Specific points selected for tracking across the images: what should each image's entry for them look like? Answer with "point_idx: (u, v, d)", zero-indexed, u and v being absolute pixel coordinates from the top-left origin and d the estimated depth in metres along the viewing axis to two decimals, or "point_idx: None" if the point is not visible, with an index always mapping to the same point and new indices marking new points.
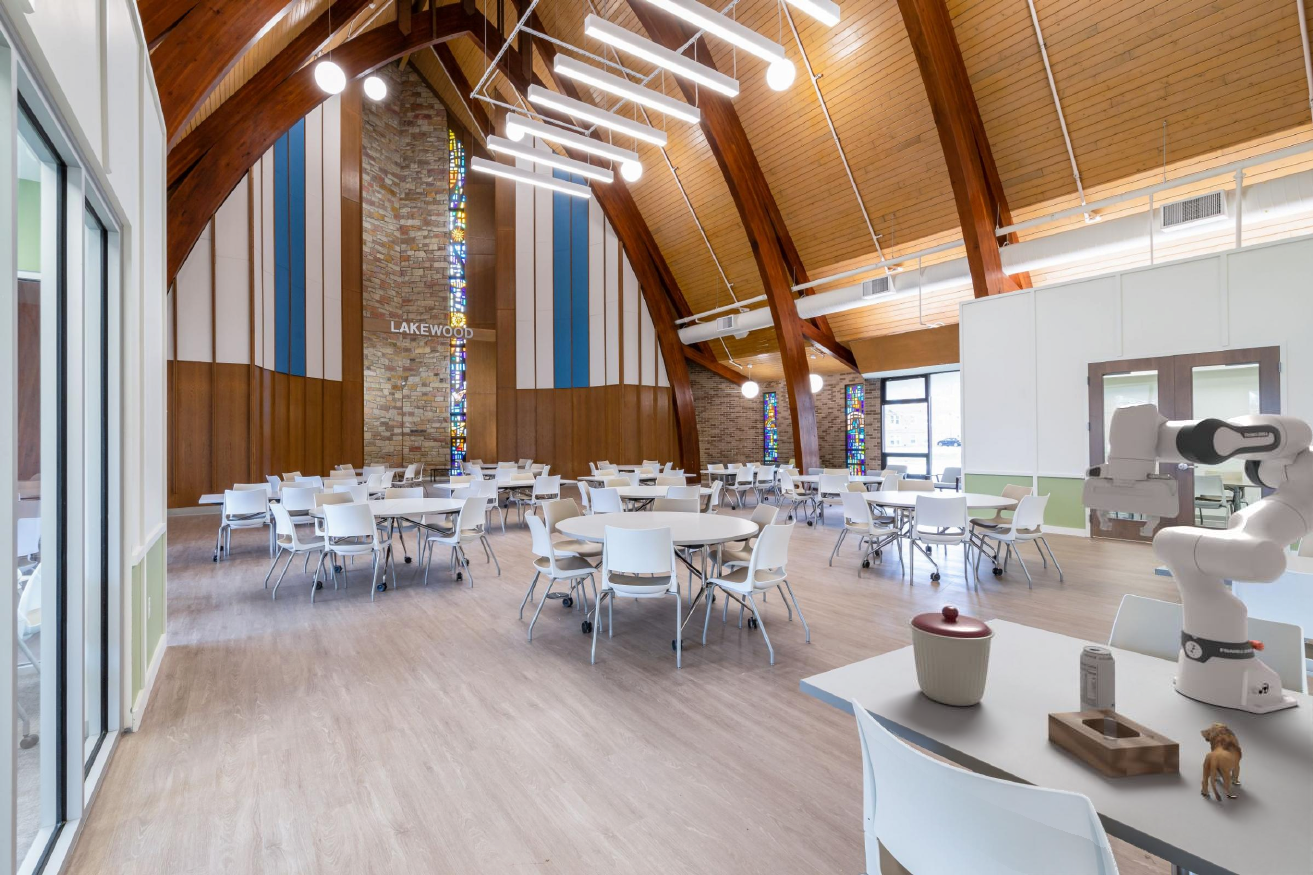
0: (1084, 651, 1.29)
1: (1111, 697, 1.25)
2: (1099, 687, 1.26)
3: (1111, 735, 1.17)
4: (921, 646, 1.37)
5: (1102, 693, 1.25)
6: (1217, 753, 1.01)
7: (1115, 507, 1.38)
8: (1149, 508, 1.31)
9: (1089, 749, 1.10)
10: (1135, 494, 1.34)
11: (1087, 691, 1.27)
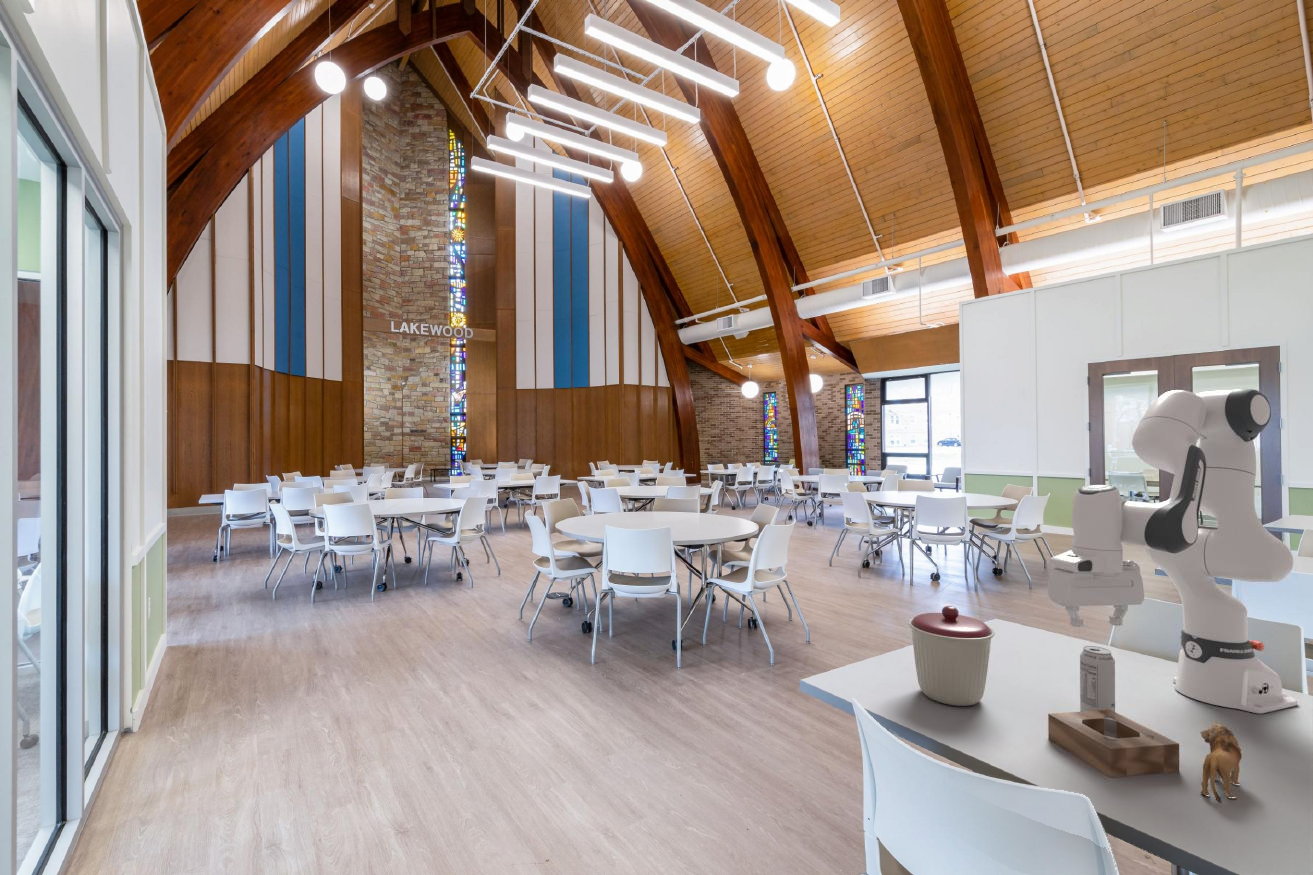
0: (1084, 651, 1.29)
1: (1111, 697, 1.25)
2: (1099, 687, 1.26)
3: (1111, 735, 1.17)
4: (921, 646, 1.37)
5: (1102, 693, 1.25)
6: (1217, 754, 1.01)
7: (1098, 602, 1.26)
8: (1130, 599, 1.27)
9: (1089, 749, 1.10)
10: (1114, 585, 1.27)
11: (1087, 691, 1.27)
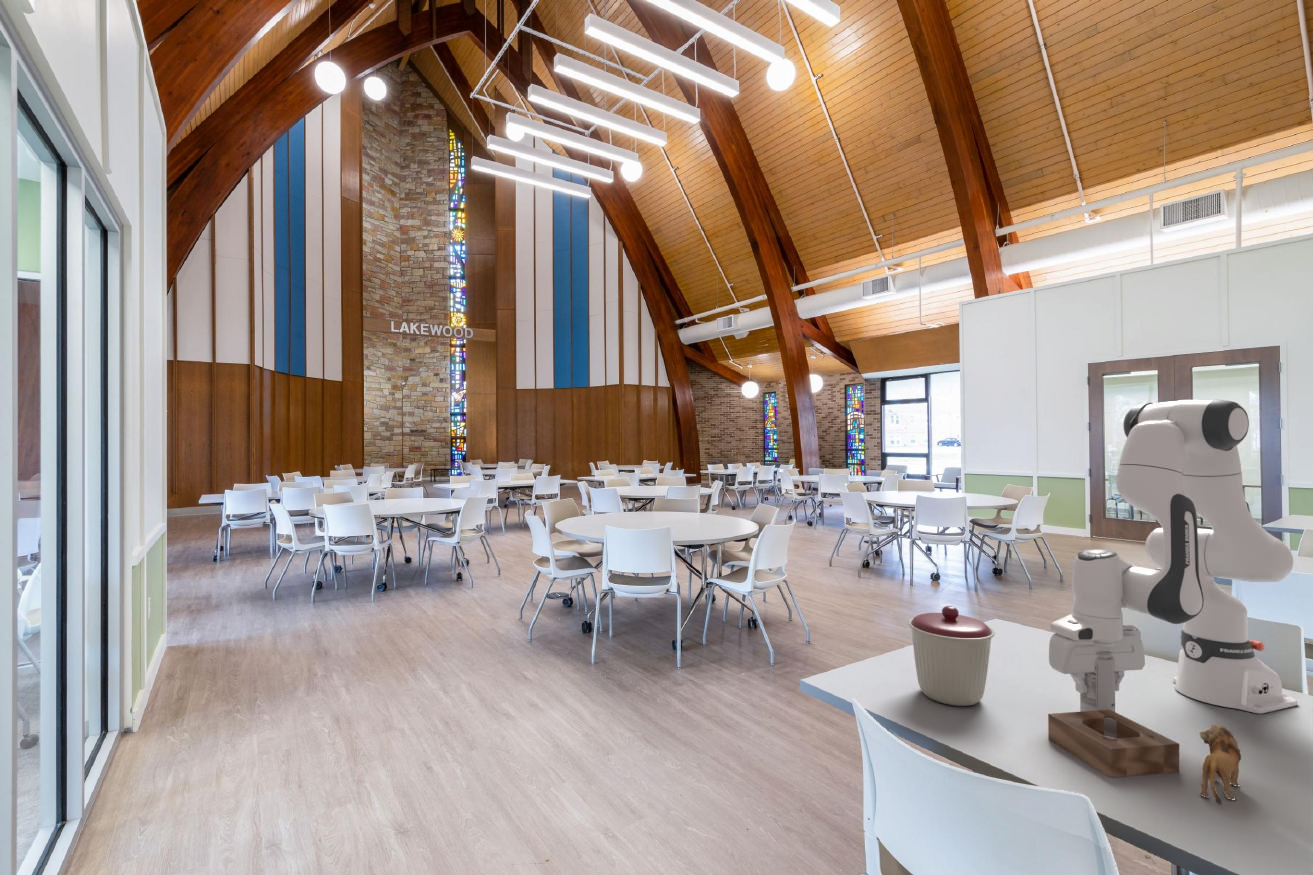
0: None
1: (1111, 697, 1.25)
2: (1099, 687, 1.26)
3: (1111, 735, 1.17)
4: (921, 646, 1.37)
5: (1102, 693, 1.25)
6: (1217, 755, 1.00)
7: None
8: (1131, 664, 1.27)
9: (1089, 749, 1.10)
10: (1115, 651, 1.27)
11: None
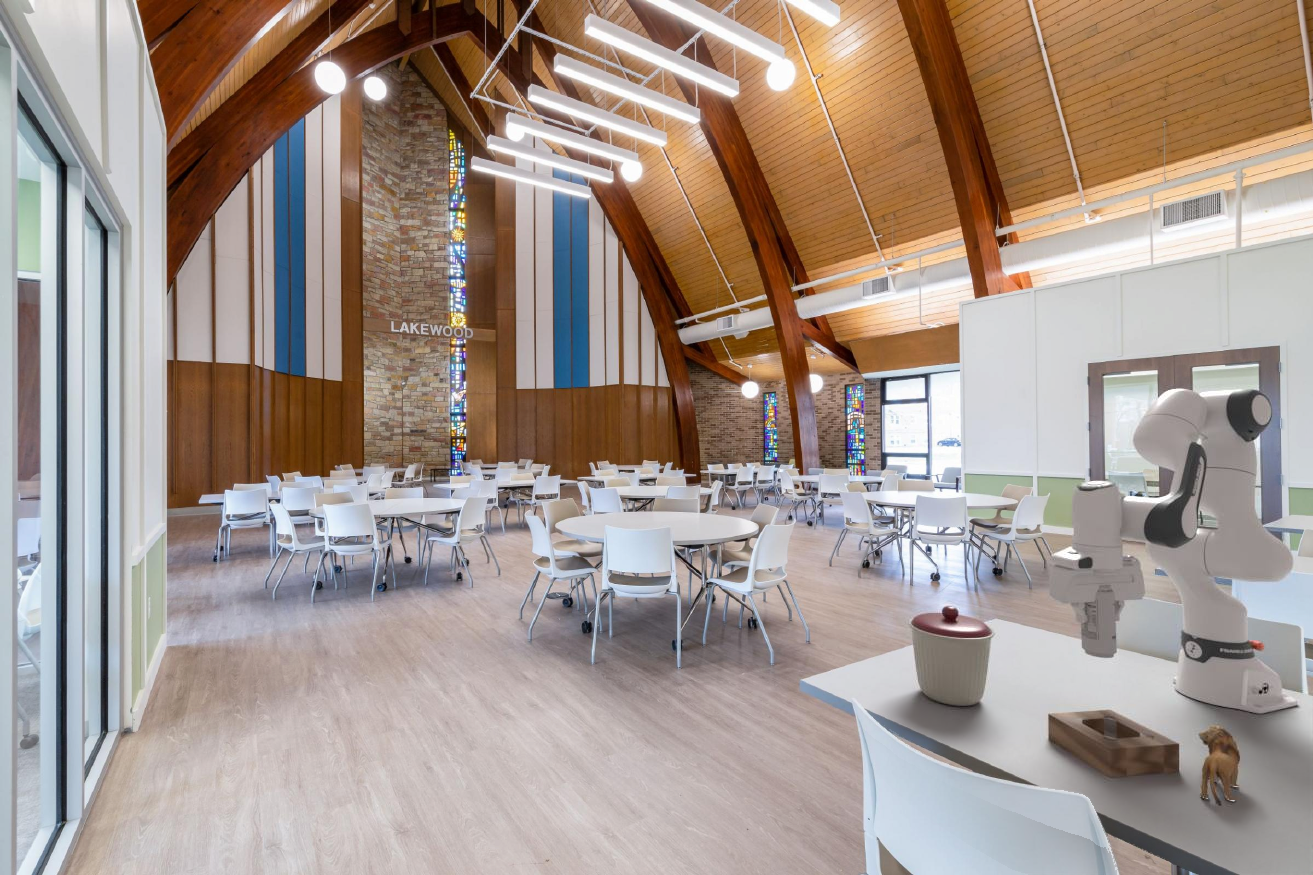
0: None
1: (1112, 629, 1.25)
2: (1099, 620, 1.26)
3: (1111, 735, 1.17)
4: (921, 646, 1.37)
5: (1103, 625, 1.26)
6: (1217, 757, 1.00)
7: None
8: (1131, 594, 1.28)
9: (1089, 749, 1.10)
10: (1115, 581, 1.27)
11: (1088, 625, 1.27)
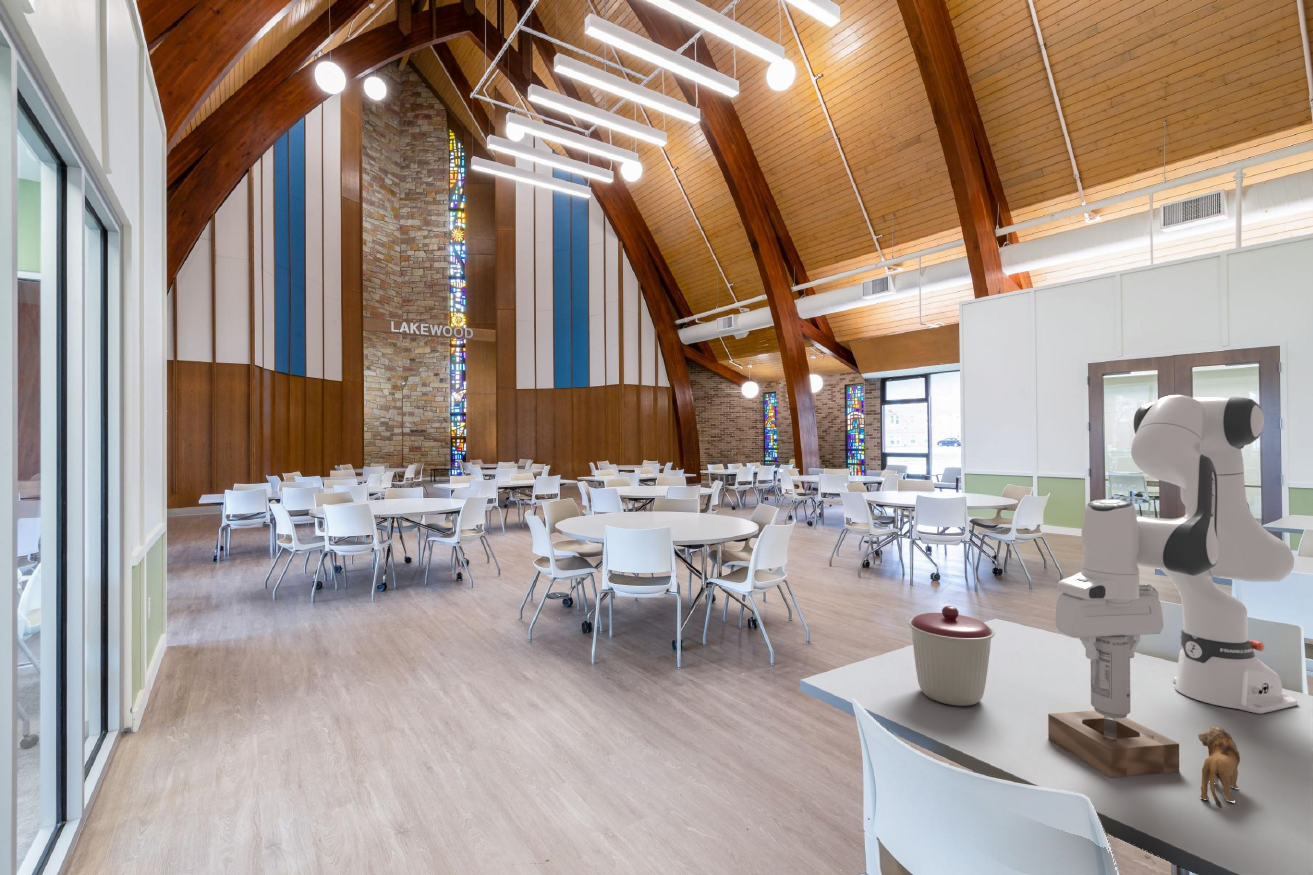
0: None
1: (1127, 687, 1.11)
2: (1113, 676, 1.11)
3: (1111, 735, 1.17)
4: (921, 646, 1.37)
5: (1117, 682, 1.11)
6: (1217, 758, 1.00)
7: (1112, 632, 1.12)
8: (1148, 627, 1.13)
9: (1089, 749, 1.10)
10: (1130, 613, 1.13)
11: (1100, 680, 1.13)
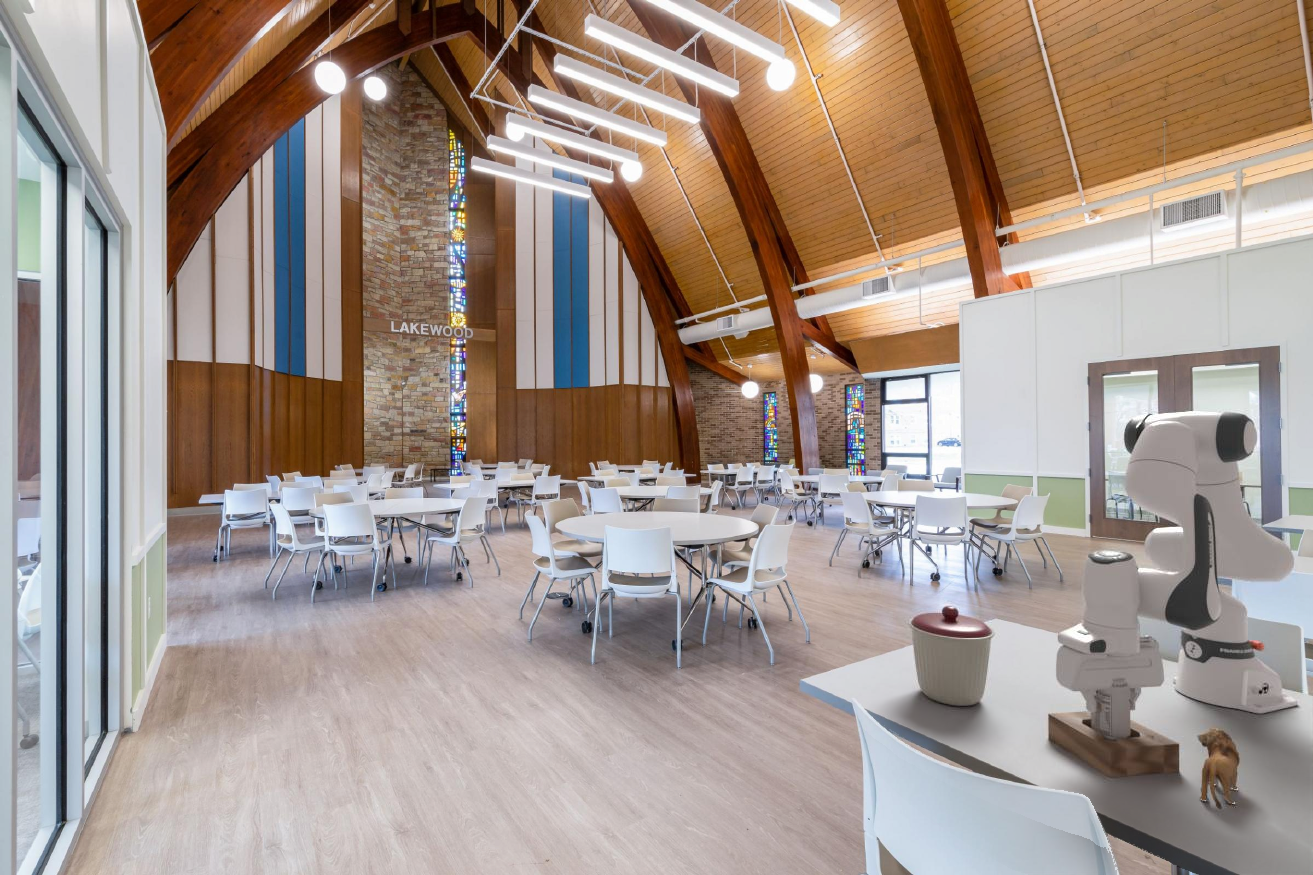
0: None
1: (1127, 729, 1.11)
2: (1113, 718, 1.11)
3: None
4: (921, 646, 1.37)
5: (1117, 725, 1.11)
6: (1216, 759, 0.99)
7: None
8: (1148, 680, 1.13)
9: (1089, 749, 1.10)
10: (1131, 666, 1.13)
11: (1100, 722, 1.13)
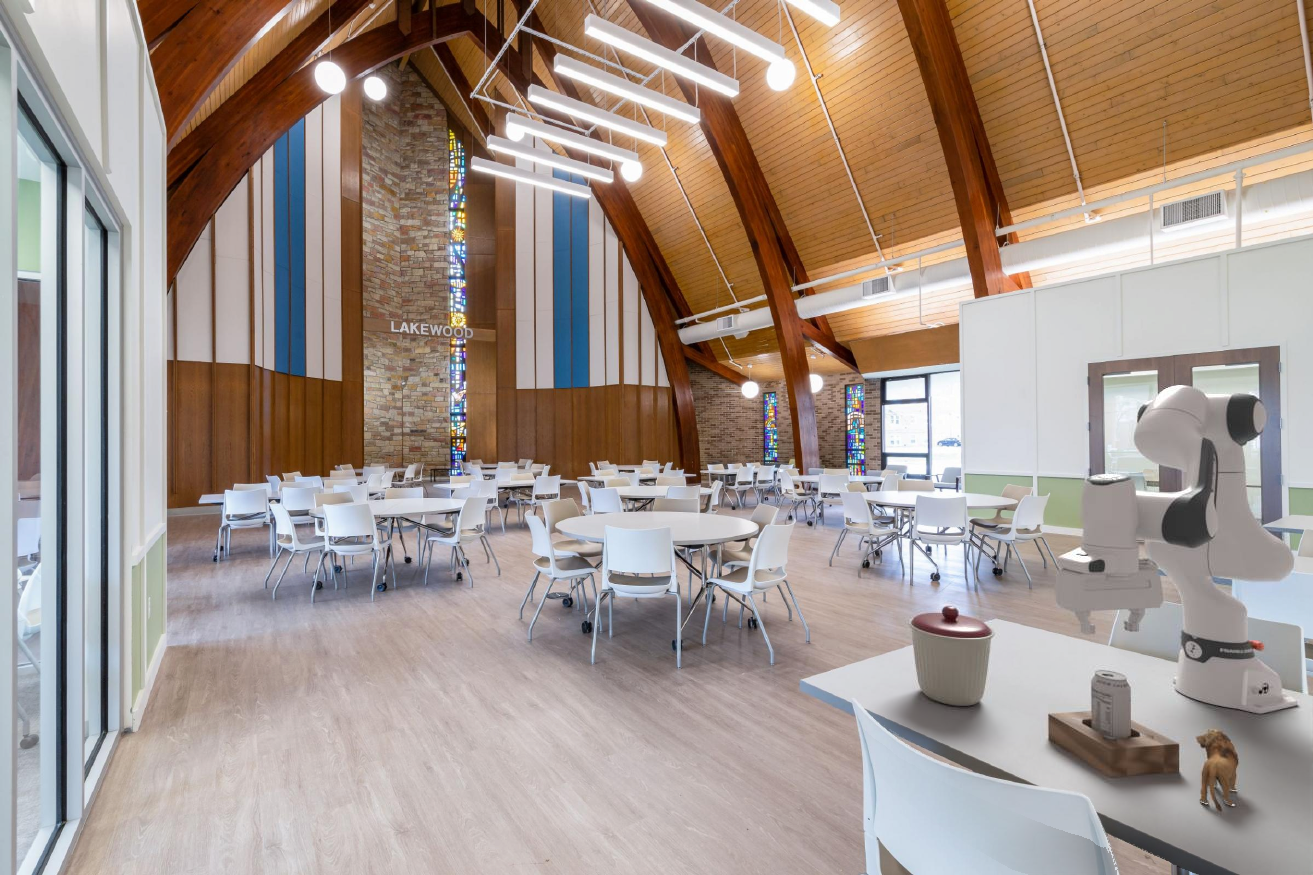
0: (1096, 676, 1.15)
1: (1127, 729, 1.11)
2: (1113, 718, 1.11)
3: None
4: (921, 646, 1.37)
5: (1117, 725, 1.11)
6: (1216, 761, 0.99)
7: (1112, 606, 1.12)
8: (1147, 601, 1.13)
9: (1089, 749, 1.10)
10: (1130, 587, 1.13)
11: (1100, 722, 1.13)
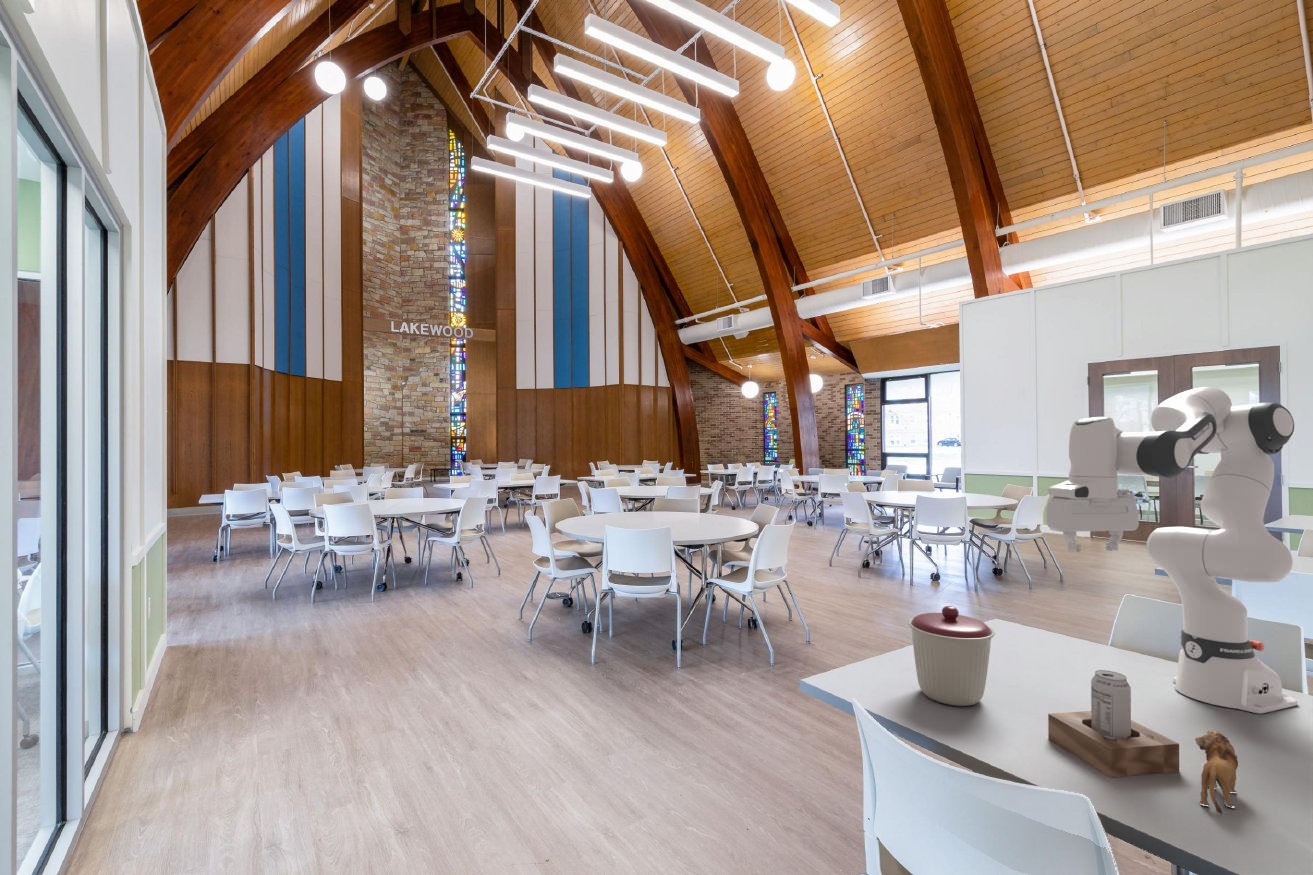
0: (1096, 676, 1.15)
1: (1127, 729, 1.11)
2: (1113, 718, 1.11)
3: None
4: (921, 646, 1.37)
5: (1117, 725, 1.11)
6: (1216, 763, 0.98)
7: (1094, 527, 1.32)
8: (1125, 524, 1.33)
9: (1089, 749, 1.10)
10: (1110, 512, 1.33)
11: (1100, 722, 1.13)
